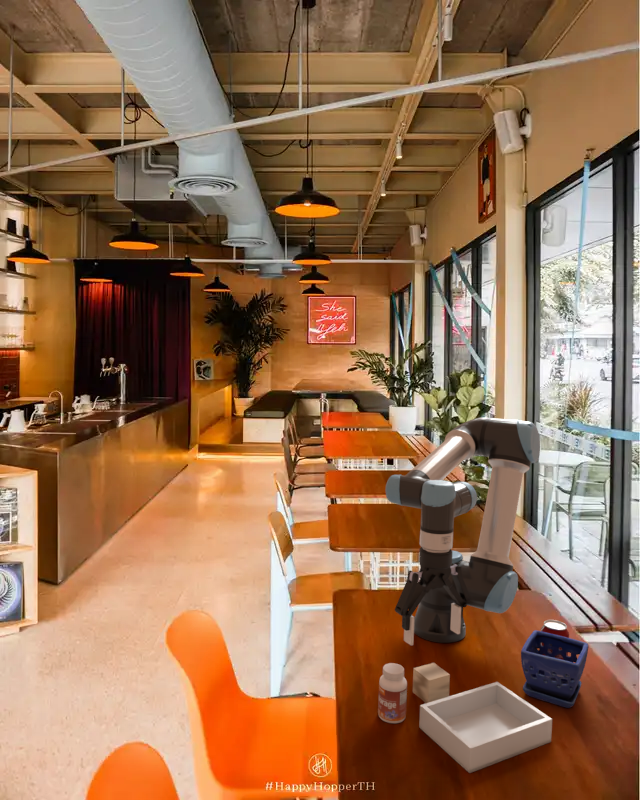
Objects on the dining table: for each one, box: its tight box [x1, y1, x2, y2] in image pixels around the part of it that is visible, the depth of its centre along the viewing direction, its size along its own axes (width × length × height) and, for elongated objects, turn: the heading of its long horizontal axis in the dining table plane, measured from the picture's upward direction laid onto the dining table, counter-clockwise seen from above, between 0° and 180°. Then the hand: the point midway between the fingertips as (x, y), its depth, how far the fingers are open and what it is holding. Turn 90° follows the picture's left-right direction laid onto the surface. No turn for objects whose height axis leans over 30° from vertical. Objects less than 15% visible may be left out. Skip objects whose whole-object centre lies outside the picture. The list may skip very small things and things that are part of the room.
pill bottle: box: [377, 662, 408, 724], centre depth 136 cm, size 6×6×11 cm
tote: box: [418, 681, 553, 774], centre depth 130 cm, size 16×22×5 cm
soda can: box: [540, 619, 570, 660], centre depth 157 cm, size 7×7×12 cm
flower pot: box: [520, 629, 589, 709], centre depth 146 cm, size 13×13×12 cm
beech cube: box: [412, 662, 451, 704], centre depth 144 cm, size 6×6×6 cm
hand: (432, 637), depth 143 cm, fingers open, 13 cm apart
